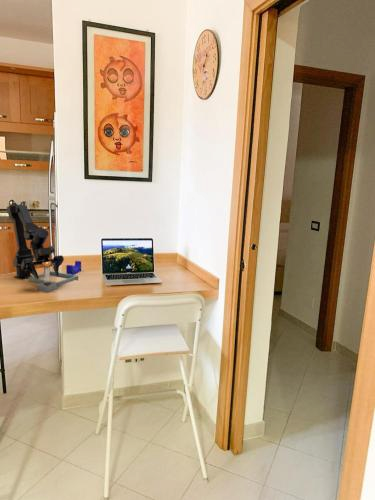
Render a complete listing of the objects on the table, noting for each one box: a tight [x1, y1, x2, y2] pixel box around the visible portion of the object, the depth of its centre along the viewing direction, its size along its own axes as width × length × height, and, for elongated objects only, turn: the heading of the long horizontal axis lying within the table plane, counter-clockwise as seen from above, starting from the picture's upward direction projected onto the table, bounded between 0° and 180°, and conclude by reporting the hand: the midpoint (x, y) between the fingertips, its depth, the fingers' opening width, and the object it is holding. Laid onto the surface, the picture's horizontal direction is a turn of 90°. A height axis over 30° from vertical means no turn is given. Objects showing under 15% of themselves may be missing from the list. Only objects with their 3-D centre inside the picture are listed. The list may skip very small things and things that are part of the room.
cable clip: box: [65, 260, 82, 275], centre depth 213 cm, size 12×4×6 cm, turn 170°
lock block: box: [37, 281, 58, 293], centre depth 177 cm, size 6×6×4 cm
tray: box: [28, 270, 79, 287], centre depth 194 cm, size 18×16×3 cm
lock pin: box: [42, 261, 52, 285], centre depth 176 cm, size 4×4×14 cm
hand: (48, 277), depth 175 cm, fingers open, 9 cm apart
